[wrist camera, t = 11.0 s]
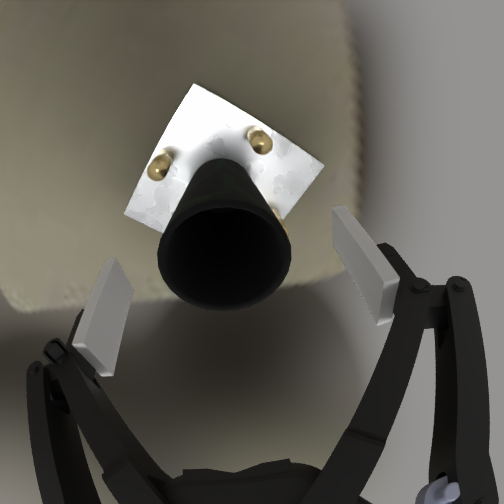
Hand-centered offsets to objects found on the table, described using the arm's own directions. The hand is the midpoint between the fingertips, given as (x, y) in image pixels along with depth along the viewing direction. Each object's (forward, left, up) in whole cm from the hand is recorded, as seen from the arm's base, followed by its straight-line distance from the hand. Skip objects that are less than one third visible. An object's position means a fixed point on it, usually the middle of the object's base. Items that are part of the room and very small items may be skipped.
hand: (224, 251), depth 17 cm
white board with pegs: (0, 0, -13) cm, 13 cm away
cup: (0, 0, -12) cm, 12 cm away
